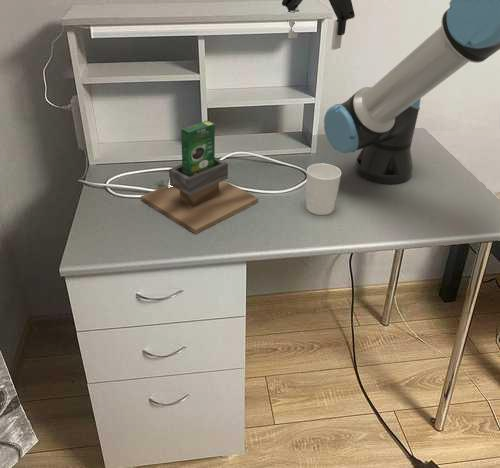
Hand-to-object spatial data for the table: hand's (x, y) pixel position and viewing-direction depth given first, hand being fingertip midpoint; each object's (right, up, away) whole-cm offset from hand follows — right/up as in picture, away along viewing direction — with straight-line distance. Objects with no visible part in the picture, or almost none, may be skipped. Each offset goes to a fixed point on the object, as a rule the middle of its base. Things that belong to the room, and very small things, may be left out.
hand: (313, 42), depth 131 cm
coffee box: (-28, -34, -7) cm, 45 cm away
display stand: (-28, -40, -3) cm, 49 cm away
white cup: (+1, -41, -4) cm, 42 cm away
